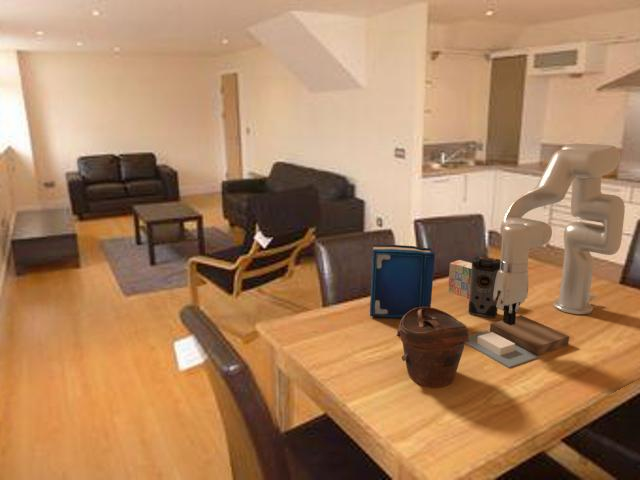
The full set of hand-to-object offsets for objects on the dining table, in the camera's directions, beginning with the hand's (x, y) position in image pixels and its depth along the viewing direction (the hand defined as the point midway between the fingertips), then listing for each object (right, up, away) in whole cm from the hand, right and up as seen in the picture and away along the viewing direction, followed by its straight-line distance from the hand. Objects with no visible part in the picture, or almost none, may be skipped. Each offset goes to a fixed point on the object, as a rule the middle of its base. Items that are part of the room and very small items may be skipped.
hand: (508, 323), depth 148 cm
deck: (+8, -6, +6) cm, 12 cm away
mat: (-4, -8, 0) cm, 9 cm away
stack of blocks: (+2, +3, +40) cm, 40 cm away
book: (-29, -2, +24) cm, 38 cm away
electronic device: (0, -1, +25) cm, 25 cm away
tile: (-4, -6, -1) cm, 7 cm away
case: (-27, -12, -14) cm, 33 cm away
